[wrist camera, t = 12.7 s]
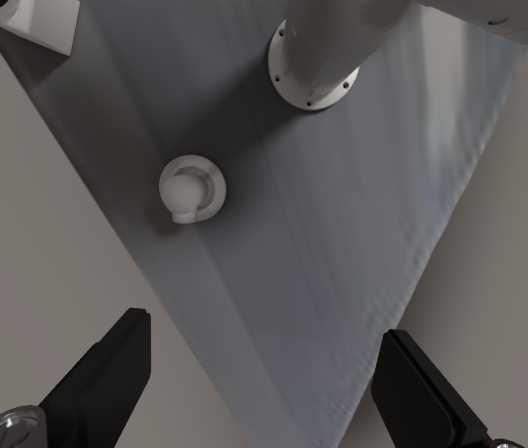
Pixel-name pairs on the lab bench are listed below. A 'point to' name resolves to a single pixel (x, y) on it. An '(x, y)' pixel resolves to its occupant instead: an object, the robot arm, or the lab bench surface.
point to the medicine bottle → (42, 21)
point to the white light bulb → (184, 196)
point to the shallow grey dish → (208, 172)
